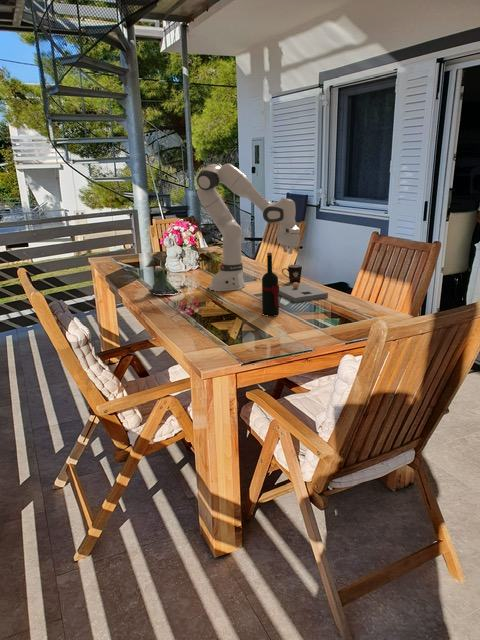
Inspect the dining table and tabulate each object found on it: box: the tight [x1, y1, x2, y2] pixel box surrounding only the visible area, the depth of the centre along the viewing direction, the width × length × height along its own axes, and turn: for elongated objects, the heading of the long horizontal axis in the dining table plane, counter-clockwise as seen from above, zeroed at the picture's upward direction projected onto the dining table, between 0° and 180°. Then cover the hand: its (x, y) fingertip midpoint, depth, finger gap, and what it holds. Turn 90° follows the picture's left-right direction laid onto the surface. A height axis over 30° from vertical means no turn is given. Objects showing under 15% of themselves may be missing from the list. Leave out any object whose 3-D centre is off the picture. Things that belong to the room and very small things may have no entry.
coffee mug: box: [281, 264, 303, 284], centre depth 294 cm, size 12×9×10 cm
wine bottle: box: [261, 252, 280, 317], centre depth 227 cm, size 8×10×30 cm
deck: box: [278, 283, 329, 303], centre depth 265 cm, size 20×25×2 cm
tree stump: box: [147, 266, 178, 294], centre depth 278 cm, size 18×20×18 cm
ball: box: [292, 282, 300, 288], centre depth 269 cm, size 4×4×4 cm
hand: (287, 253), depth 272 cm, fingers open, 5 cm apart
